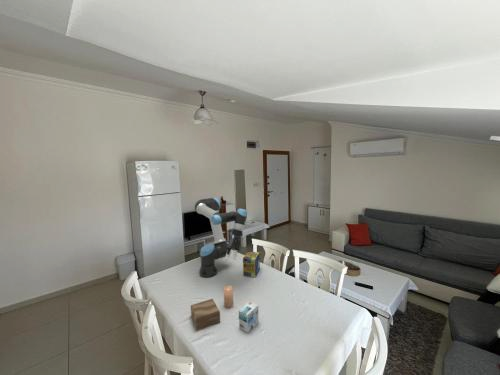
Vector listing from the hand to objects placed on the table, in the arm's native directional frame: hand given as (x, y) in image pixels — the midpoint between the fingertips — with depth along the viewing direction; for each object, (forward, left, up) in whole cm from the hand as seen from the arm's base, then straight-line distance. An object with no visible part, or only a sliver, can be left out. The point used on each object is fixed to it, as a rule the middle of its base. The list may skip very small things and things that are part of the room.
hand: (230, 259), depth 155 cm
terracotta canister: (+13, -7, -25) cm, 29 cm away
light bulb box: (+35, -3, -25) cm, 43 cm away
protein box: (-18, +26, -25) cm, 40 cm away
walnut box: (+18, -24, -25) cm, 39 cm away
